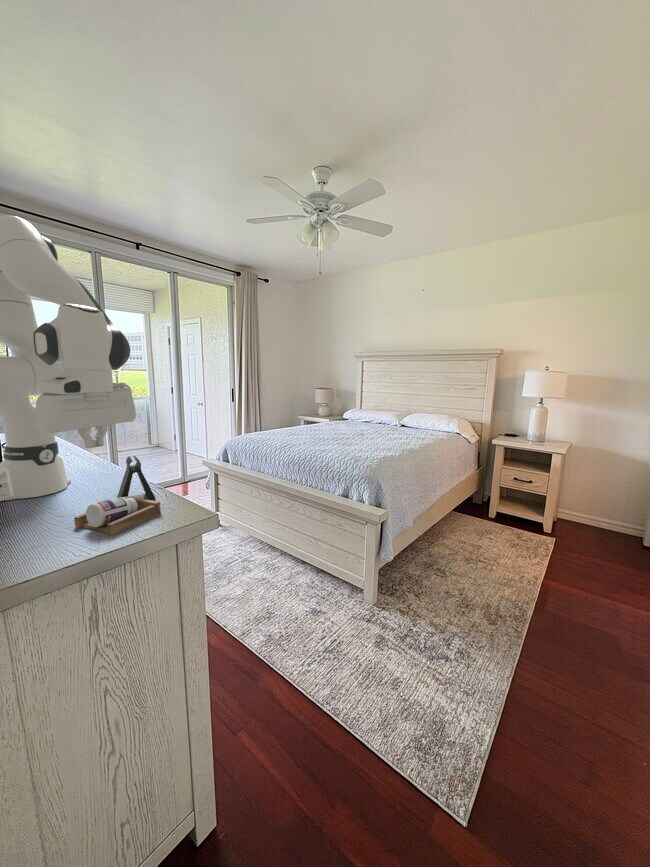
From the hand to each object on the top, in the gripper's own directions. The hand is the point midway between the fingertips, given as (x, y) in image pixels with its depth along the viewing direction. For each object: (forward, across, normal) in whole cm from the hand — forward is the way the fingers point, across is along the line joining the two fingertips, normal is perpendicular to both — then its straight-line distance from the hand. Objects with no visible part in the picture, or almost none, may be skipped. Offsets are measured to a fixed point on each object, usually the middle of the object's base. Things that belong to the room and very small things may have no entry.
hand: (94, 446), depth 79 cm
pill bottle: (+15, +2, +1) cm, 15 cm away
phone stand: (+19, -16, -8) cm, 26 cm away
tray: (+19, -4, 0) cm, 19 cm away
